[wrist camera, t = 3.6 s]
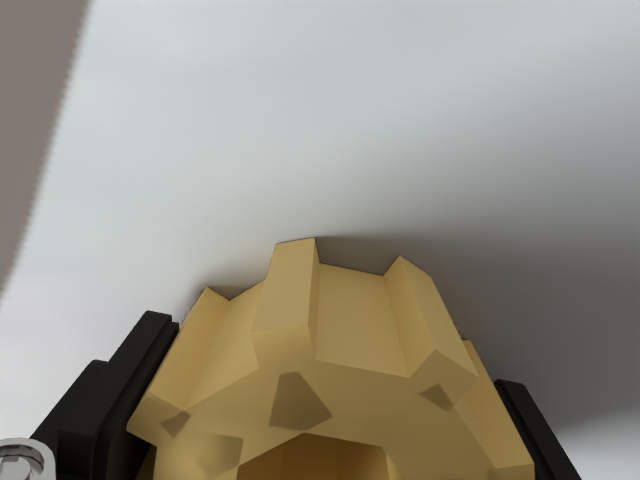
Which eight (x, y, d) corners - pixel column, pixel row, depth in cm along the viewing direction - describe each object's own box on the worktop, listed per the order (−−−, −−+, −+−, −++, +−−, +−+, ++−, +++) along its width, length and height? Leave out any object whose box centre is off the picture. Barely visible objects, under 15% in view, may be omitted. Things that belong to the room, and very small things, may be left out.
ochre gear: (201, 213, 11) (137, 289, 7) (507, 277, 12) (594, 380, 8) (167, 461, 14) (104, 614, 10) (422, 507, 14) (457, 671, 10)
